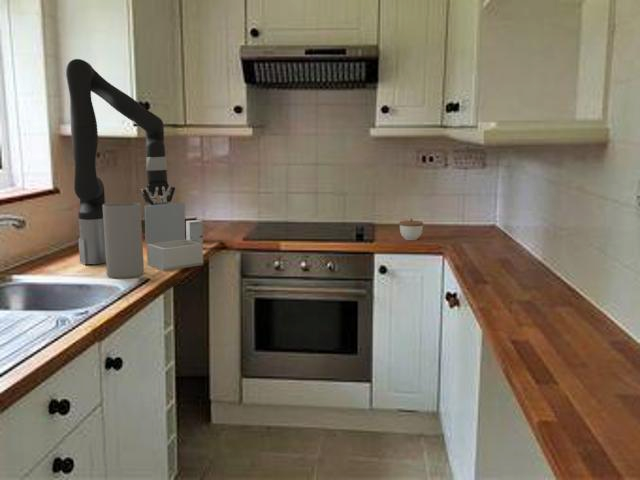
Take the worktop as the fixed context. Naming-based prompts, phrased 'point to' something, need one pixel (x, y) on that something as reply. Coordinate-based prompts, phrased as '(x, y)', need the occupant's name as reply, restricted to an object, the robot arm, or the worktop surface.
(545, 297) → the worktop surface
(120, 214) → the cylinder vase
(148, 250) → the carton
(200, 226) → the skincare box
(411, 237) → the lidded jar
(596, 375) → the worktop surface
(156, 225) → the grey plate
